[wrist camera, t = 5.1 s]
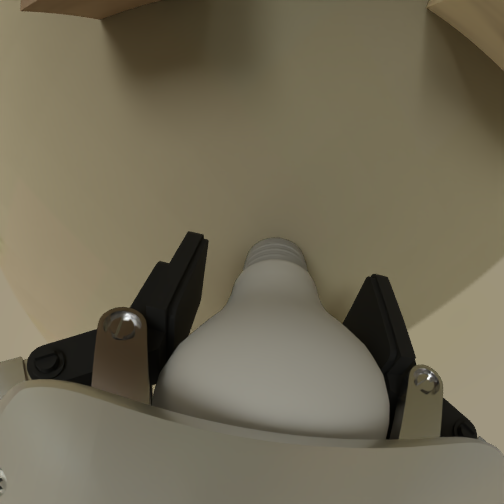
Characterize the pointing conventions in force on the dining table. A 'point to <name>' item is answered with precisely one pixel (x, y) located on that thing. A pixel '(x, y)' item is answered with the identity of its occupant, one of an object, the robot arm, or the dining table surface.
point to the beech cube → (476, 23)
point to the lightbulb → (277, 359)
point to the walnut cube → (82, 7)
